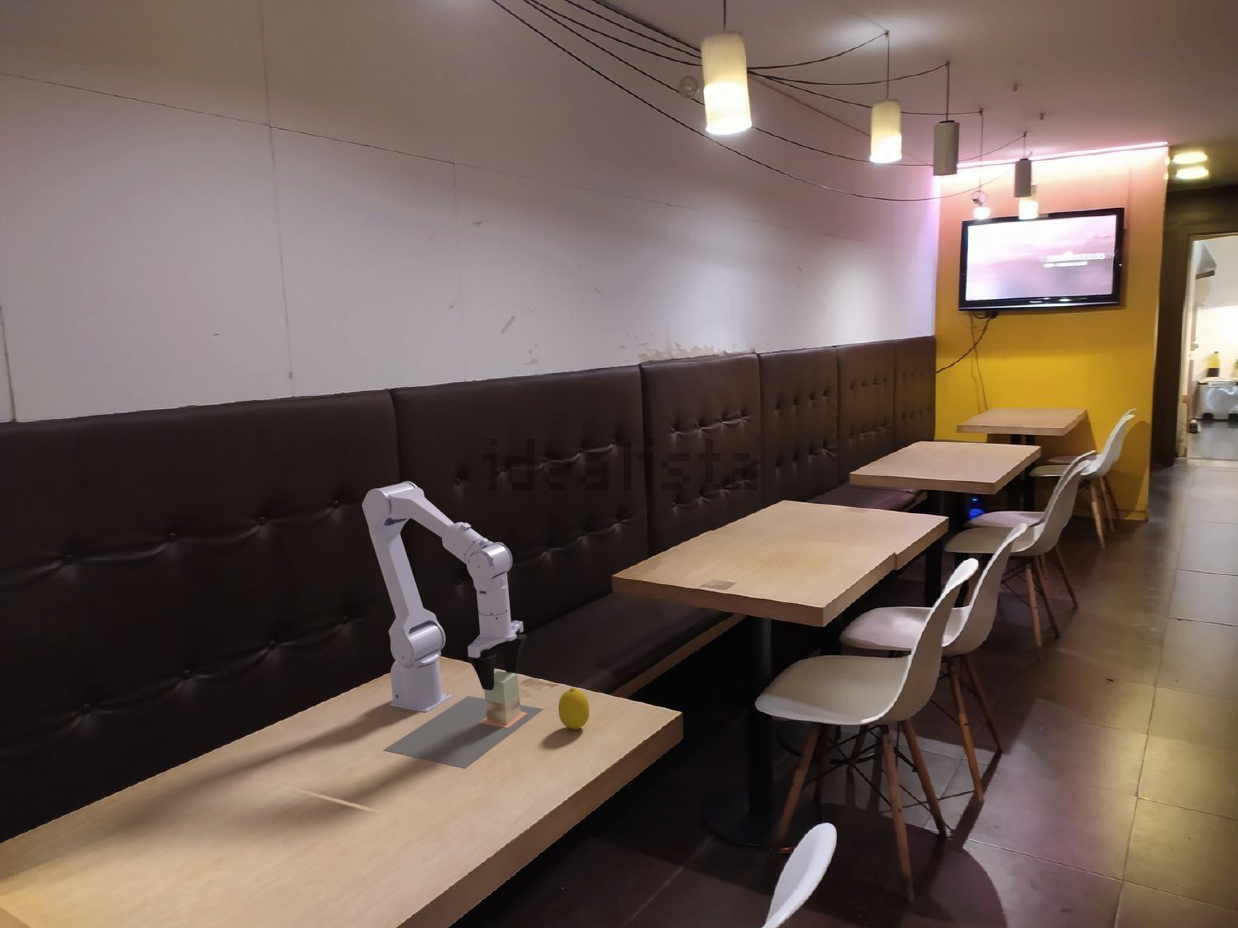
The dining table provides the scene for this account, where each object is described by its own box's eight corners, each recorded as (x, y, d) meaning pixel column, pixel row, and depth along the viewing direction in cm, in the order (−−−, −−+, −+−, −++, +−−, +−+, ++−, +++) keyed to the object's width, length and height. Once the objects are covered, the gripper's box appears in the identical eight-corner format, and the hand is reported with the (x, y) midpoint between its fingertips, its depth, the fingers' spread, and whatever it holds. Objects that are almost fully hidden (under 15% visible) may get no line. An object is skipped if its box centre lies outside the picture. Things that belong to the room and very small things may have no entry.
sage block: (485, 700, 155) (483, 679, 154) (499, 690, 159) (497, 670, 158) (505, 703, 152) (503, 682, 152) (519, 694, 156) (517, 673, 156)
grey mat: (383, 752, 146) (383, 749, 146) (468, 697, 167) (467, 695, 167) (465, 770, 138) (465, 767, 138) (543, 710, 159) (543, 708, 159)
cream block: (487, 720, 155) (485, 700, 155) (501, 710, 159) (499, 690, 158) (507, 724, 153) (505, 703, 152) (520, 714, 157) (519, 694, 156)
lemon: (555, 728, 151) (552, 686, 150) (583, 720, 154) (580, 679, 153) (566, 740, 146) (563, 697, 145) (595, 732, 149) (592, 689, 148)
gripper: (488, 625, 145) (494, 699, 147) (534, 600, 158) (539, 669, 160) (455, 621, 148) (462, 693, 150) (503, 597, 161) (509, 664, 163)
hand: (500, 680), depth 155 cm, fingers open, 7 cm apart
